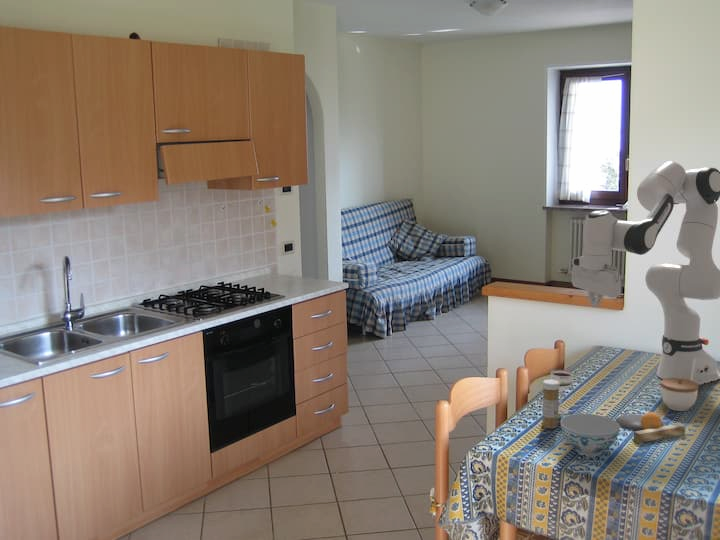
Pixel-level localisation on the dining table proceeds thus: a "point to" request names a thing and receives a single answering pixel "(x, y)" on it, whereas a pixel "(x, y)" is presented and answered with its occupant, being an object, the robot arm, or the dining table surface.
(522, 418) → the dining table surface
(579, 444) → the chinaware
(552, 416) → the sprinkles bottle
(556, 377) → the wineglass
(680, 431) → the stopper strip
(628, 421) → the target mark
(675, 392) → the lidded jar
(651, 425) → the ball
